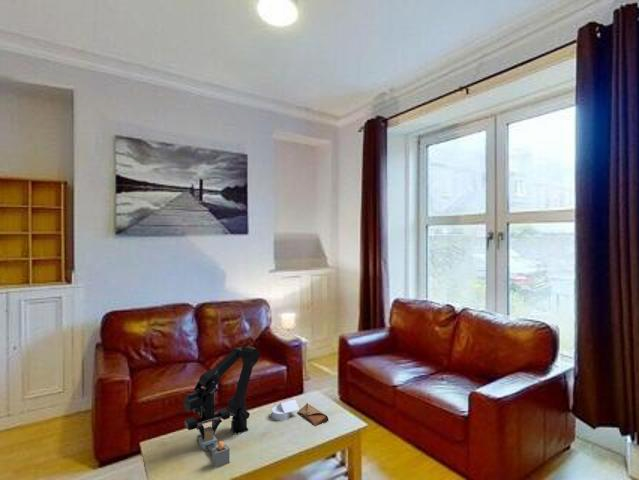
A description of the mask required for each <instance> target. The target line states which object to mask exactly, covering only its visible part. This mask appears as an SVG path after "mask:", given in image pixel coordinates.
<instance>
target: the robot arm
mask: <svg viewBox="0 0 639 480" xmlns="http://www.w3.org/2000/svg"><path fill="white" fill-rule="evenodd" d="M260 355H261V353H260V350H259V349H258V348H255V347H252V346H249V345H247V346H245V347H234V348H232V349H231V351H230V353H228V354H227V355H226V356H225V357H224V358H222V360H221V361H220V362H219V363H218V364H217V365H216V366H214V367H213V368H211V369H207V371H205V372H203V373H202V374H201V375H200V377H199V380H198V382H197V383H196V385H195V387H194V389H193V391H194V392H191V393H187V394H186V395H185V398H184V400H183V408H184V409H185V411H186V412H190V411H193V413H194V414H197V415H198V416H199V417H200V418H196V417H195V416H192V417H188V418H185V420H184V426H185V428H186V429H187V430H188V431H194V430H195V429H196V430H198V431H199V435H201V437H202V439H204V428H205V426H204V425H203V424H204V422H208V421H211V428H212V429H213V430H214V435H215V433H216V432H217V429H218V427H219V426H220V424H221V423H223V421H225V420H228V419H230V418H231V417H232V418H231V421H230V422H231V423H230V426H231V427H230V429H231V431H232V432H233V433H234V434H235V435H238V434H240V433H244V432H247V431H249V428H248V427H247V426H248V419H249V418H250V414H251V413H250V412H248V411H247V410H246V407H247V401H246V395H247V391H248V386H249V382H250V379H251V375H252V372H253V368H254V366H255V365H256V364H257V363H258V361H259V359H260ZM239 359H241V361H242V367H241V370H240V375H239V378H238V382H237V387H236V389H235V394H234V395H233V397H232V398H231V397H229V398H228V403H227V405H226V407H223V408H219V409H217V410H216V412H215V409H216V405H215V403H216V402H215V401H216V400H215V398H216V397H215V395H216V392H219V390H220V388H218V387H217V385H218V384H219V383H220V381H221V378H222V376H223V375H224V374H225V373H226V372H227V371H228V370H229V369H231V367H232V366H233V365H234V364H235V363H236V362H237V361H239Z"/></svg>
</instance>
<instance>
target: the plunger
mask: <svg viewBox="0 0 639 480" xmlns="http://www.w3.org/2000/svg"><path fill="white" fill-rule="evenodd" d="M217 447H218V451H222V450H223V447H224V441H223V440H220V441H217Z"/></svg>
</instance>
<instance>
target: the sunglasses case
mask: <svg viewBox="0 0 639 480" xmlns="http://www.w3.org/2000/svg"><path fill="white" fill-rule="evenodd" d="M296 412H297V413H298V414H297V413H296V414H297V415H299V414H300V416H301V415H302V416H301V417H302V418H304V419H305V418H306V419H305V420H307V421H308V422H310V423H311V424H312V425H313V426H314V427H317V426H319V425H320V426H321V425H323V424H325V422H326V423H328V422H329V417H328V416H327V415H326V414H325V413H323V412H322V411H320V410H319V409H317V408H316V407H314V406H313V405H311V404H309V403H308V402H306V404H305V405H304V406H303V407H301V408H299V409H298V410H297V411H296ZM327 421H328V422H327ZM322 423H323V424H322Z"/></svg>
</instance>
